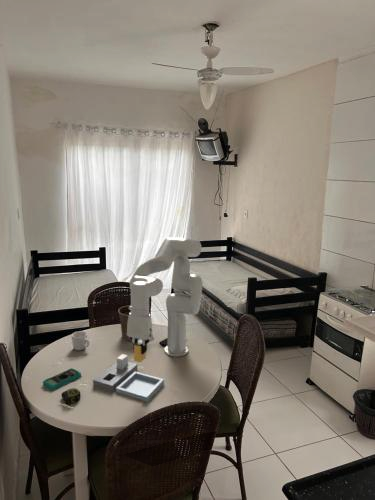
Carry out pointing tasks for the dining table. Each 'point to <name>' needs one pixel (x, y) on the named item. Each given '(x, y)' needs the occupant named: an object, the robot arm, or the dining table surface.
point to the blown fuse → (138, 351)
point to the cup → (80, 340)
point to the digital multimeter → (61, 379)
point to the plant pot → (124, 321)
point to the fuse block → (114, 377)
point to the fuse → (122, 362)
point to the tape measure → (71, 396)
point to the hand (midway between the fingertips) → (140, 351)
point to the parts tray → (140, 386)
